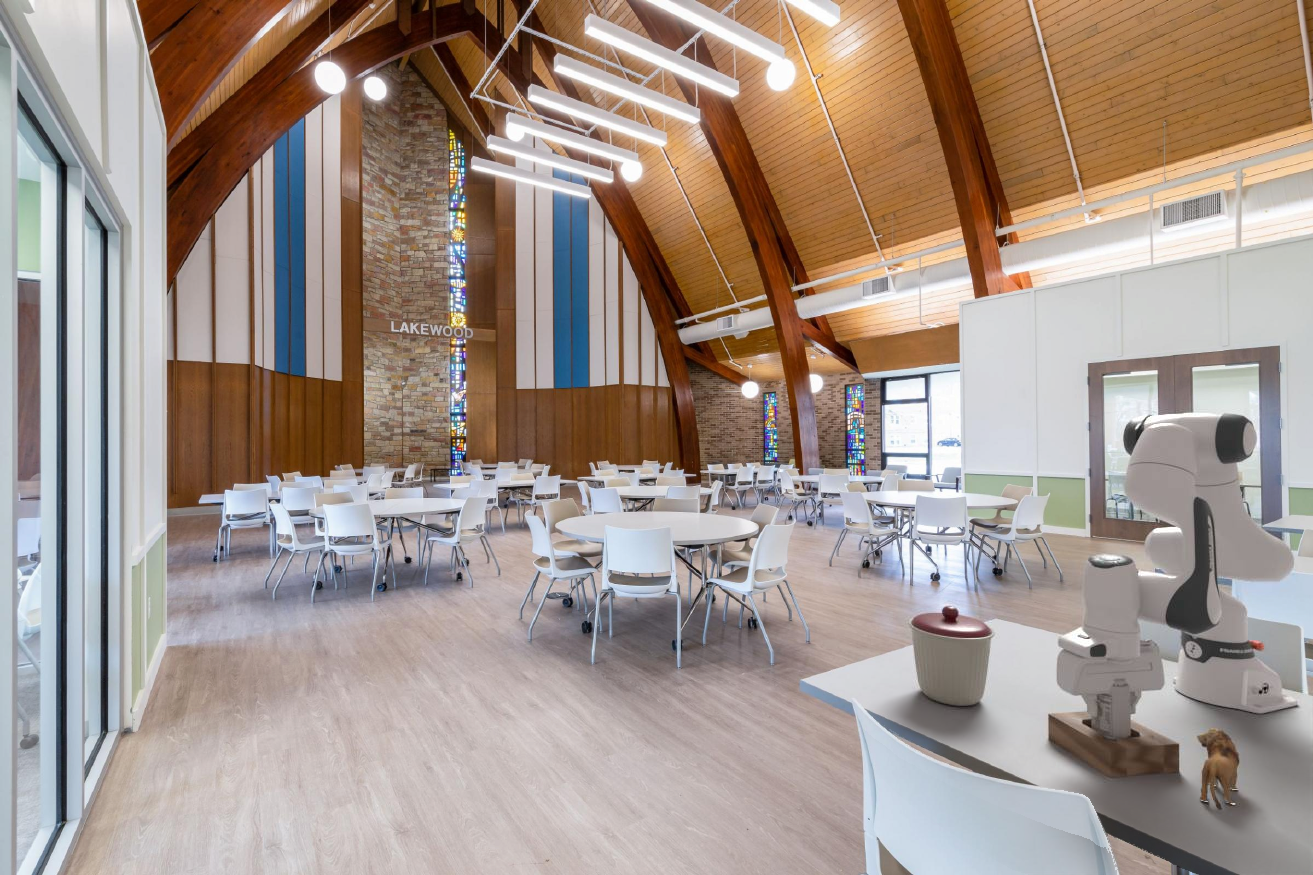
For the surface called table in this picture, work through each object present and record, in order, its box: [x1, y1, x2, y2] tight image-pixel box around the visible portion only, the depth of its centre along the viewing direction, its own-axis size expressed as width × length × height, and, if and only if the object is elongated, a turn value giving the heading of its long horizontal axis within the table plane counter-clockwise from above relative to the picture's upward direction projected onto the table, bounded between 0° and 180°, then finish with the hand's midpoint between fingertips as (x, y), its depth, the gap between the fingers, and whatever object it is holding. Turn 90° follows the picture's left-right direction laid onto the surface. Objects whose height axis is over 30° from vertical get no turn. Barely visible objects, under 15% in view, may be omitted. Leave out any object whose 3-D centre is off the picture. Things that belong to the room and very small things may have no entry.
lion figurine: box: [1196, 727, 1240, 811], centre depth 101 cm, size 15×5×9 cm, turn 139°
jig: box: [1047, 710, 1180, 778], centre depth 114 cm, size 14×14×5 cm
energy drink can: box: [1091, 679, 1132, 739], centre depth 114 cm, size 6×6×15 cm
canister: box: [907, 605, 996, 707], centre depth 140 cm, size 18×18×21 cm
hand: (1111, 714), depth 114 cm, fingers open, 6 cm apart
